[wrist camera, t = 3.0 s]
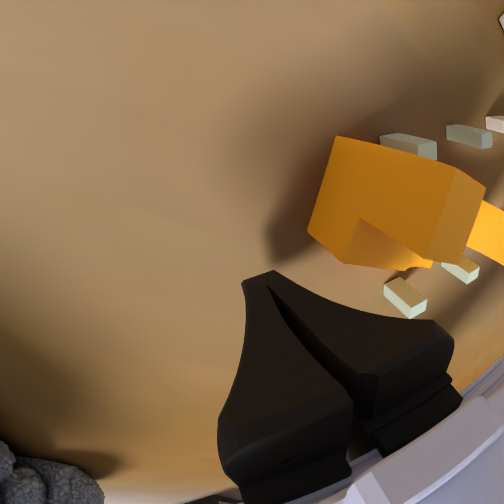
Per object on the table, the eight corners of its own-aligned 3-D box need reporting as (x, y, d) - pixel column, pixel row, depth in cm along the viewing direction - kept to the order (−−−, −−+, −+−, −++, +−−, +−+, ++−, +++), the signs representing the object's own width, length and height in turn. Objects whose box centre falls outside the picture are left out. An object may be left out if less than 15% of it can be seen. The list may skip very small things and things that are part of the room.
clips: (451, 259, 17) (477, 277, 15) (440, 265, 17) (466, 284, 15) (457, 124, 13) (492, 132, 11) (445, 125, 13) (481, 133, 11)
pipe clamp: (304, 229, 13) (397, 314, 8) (333, 134, 12) (456, 167, 6) (450, 258, 18) (519, 307, 12) (472, 199, 16) (548, 238, 11)
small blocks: (398, 287, 17) (425, 310, 15) (383, 295, 17) (409, 319, 14) (398, 132, 12) (436, 141, 10) (379, 136, 12) (417, 145, 10)
